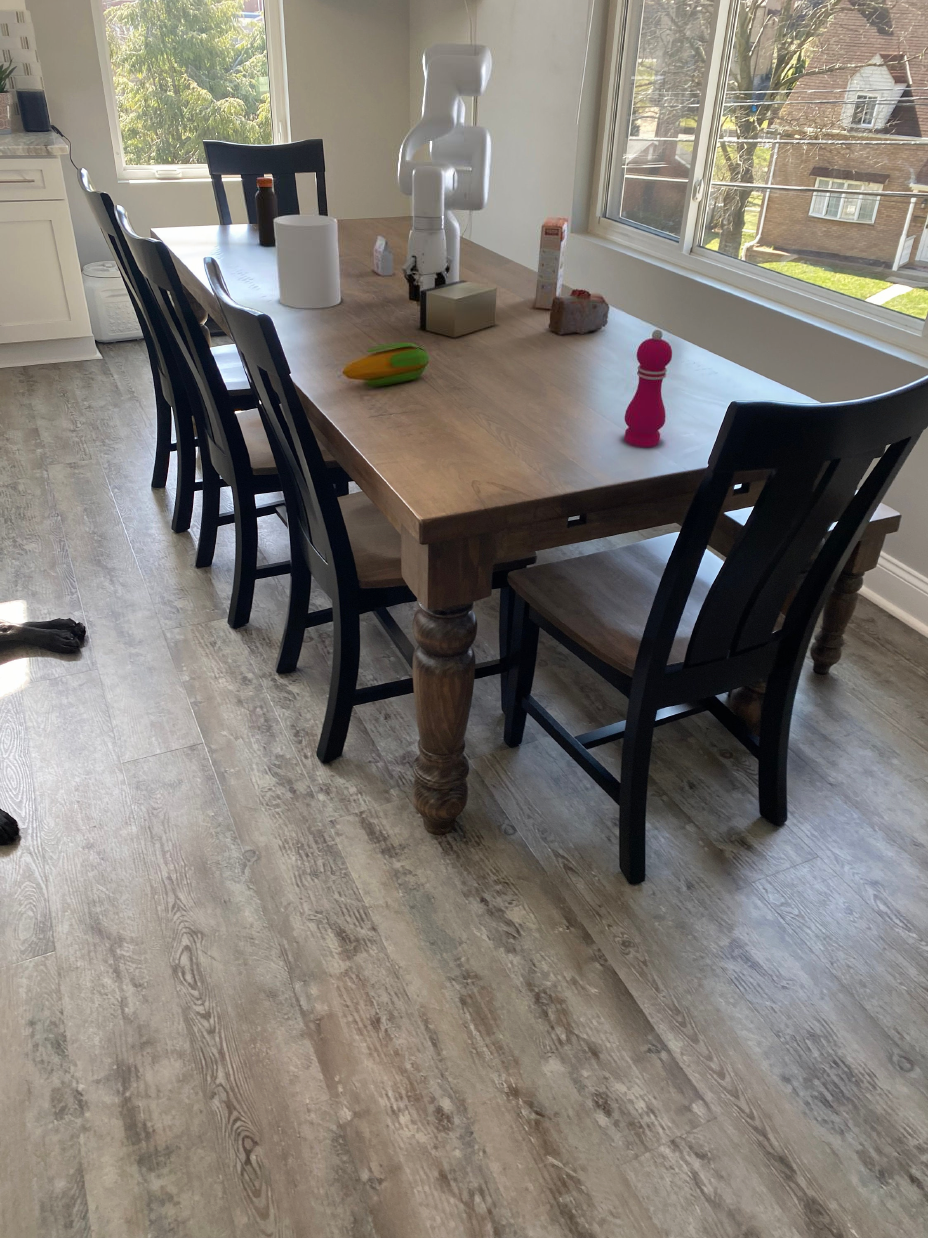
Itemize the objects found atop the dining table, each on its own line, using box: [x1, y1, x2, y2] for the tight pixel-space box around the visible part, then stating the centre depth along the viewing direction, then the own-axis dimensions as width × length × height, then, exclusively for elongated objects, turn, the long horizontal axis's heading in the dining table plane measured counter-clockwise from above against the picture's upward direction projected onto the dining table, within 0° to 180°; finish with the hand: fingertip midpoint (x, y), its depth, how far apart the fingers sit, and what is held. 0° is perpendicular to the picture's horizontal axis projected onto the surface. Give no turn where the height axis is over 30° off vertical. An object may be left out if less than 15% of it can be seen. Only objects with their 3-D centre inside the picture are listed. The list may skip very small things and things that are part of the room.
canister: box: [274, 214, 342, 310], centre depth 232 cm, size 16×16×20 cm
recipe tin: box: [415, 279, 498, 338], centre depth 219 cm, size 16×16×9 cm
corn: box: [341, 341, 430, 387], centre depth 183 cm, size 7×8×20 cm
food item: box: [548, 288, 610, 335], centre depth 219 cm, size 14×8×10 cm, turn 118°
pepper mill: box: [624, 329, 673, 448], centre depth 156 cm, size 7×7×20 cm
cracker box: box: [534, 216, 569, 311], centre depth 237 cm, size 14×6×21 cm, turn 168°
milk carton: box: [372, 235, 394, 277], centre depth 265 cm, size 4×7×10 cm, turn 24°
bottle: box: [255, 177, 279, 247], centre depth 292 cm, size 7×7×20 cm
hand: (427, 297), depth 222 cm, fingers open, 9 cm apart
